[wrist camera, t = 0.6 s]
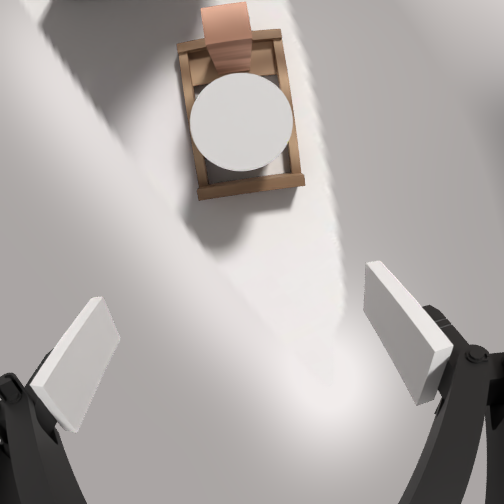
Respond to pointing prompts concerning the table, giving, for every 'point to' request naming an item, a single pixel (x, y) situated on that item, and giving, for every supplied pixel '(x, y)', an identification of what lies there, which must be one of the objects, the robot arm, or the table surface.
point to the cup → (241, 122)
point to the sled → (229, 62)
